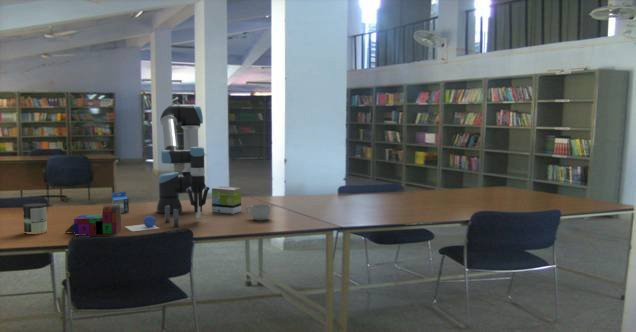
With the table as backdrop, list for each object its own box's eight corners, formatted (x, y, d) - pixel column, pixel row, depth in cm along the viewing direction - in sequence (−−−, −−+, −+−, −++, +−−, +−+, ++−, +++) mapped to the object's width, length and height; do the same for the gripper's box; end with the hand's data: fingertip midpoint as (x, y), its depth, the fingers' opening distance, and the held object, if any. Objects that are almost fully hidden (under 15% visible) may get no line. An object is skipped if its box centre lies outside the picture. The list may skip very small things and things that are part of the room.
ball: (153, 215, 291) (152, 226, 291) (142, 214, 287) (141, 226, 287) (158, 216, 286) (156, 228, 286) (146, 216, 282) (145, 228, 282)
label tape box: (114, 214, 324) (113, 193, 323) (111, 213, 327) (111, 192, 326) (129, 212, 330) (128, 192, 329) (126, 211, 333) (125, 191, 332)
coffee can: (20, 235, 267) (18, 206, 266) (29, 230, 277) (28, 202, 276) (42, 234, 268) (41, 206, 267) (50, 230, 278) (49, 202, 277)
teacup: (273, 218, 312) (273, 204, 311) (265, 222, 302) (265, 207, 301) (251, 217, 317) (250, 203, 316) (242, 220, 306) (242, 206, 306)
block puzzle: (123, 227, 286) (122, 200, 285) (116, 234, 269) (115, 206, 268) (72, 229, 282) (71, 201, 281) (62, 236, 266) (61, 207, 264)
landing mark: (124, 226, 287) (124, 226, 287) (150, 224, 295) (150, 223, 295) (132, 231, 276) (132, 231, 276) (159, 228, 284) (159, 228, 284)
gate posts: (164, 222, 300) (164, 205, 299) (169, 221, 302) (168, 205, 301) (174, 227, 287) (174, 209, 286) (179, 226, 289) (179, 209, 288)
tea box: (211, 212, 331) (211, 188, 330) (220, 209, 341) (220, 186, 339) (233, 214, 326) (233, 189, 324) (241, 211, 335) (241, 187, 334)
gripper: (188, 176, 294) (189, 220, 296) (211, 175, 301) (212, 217, 303) (183, 175, 300) (184, 218, 302) (206, 173, 307) (206, 215, 310)
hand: (198, 217), depth 303 cm, fingers closed
